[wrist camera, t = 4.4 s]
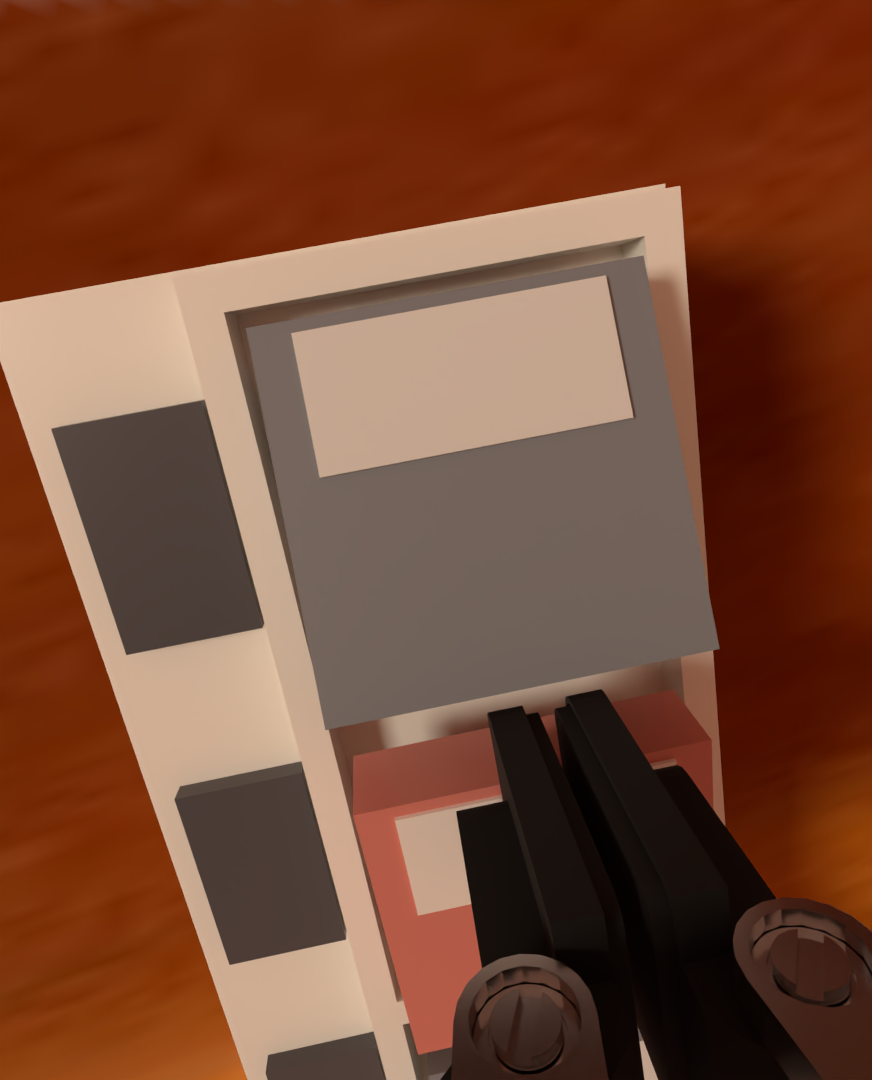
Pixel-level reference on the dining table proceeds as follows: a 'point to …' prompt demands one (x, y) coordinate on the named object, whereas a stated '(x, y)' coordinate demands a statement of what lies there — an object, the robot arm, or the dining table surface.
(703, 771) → the rocker mid
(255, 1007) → the rocker switch panel
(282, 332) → the plate
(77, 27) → the dining table surface
